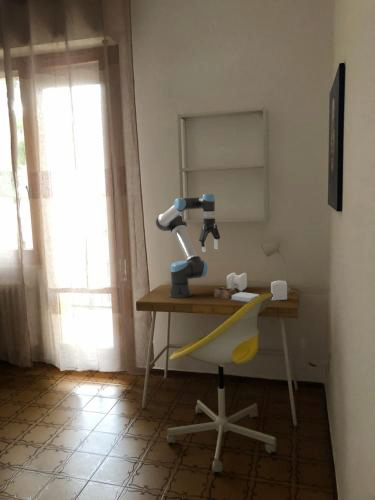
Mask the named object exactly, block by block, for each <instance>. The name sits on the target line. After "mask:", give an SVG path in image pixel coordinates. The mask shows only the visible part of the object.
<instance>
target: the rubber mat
mask: <svg viewBox="0 0 375 500" xmlns="http://www.w3.org/2000/svg"><path fill="white" fill-rule="evenodd" d="M228 300H229V301H230V302H238V303H244V304H248V303H247V301H240V300H233V299H232V298H231V299H228Z"/></svg>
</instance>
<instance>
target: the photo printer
mask: <svg viewBox="0 0 375 500" xmlns="http://www.w3.org/2000/svg"><path fill="white" fill-rule="evenodd" d="M270 283H271V284H270V294H271V293H272V294H273V297H272V299H271V298H270V300H271V301H282V300H283V301H284V300H286V301H287V300H288V283H287V281H286V280H279V279H278V280H274V281H271V282H270Z"/></svg>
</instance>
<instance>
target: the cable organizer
mask: <svg viewBox="0 0 375 500" xmlns="http://www.w3.org/2000/svg"><path fill="white" fill-rule="evenodd" d="M247 275H248V274H247V272H243V273H240V274H237V273H236V272H231V273H229V274H227V276H226V277H225V278H226V288H231V289H237V290H238V291H239V292H244V291H243V290H246V288H247V286H248V279H247V278H248V277H247Z"/></svg>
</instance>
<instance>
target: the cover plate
mask: <svg viewBox="0 0 375 500" xmlns="http://www.w3.org/2000/svg"><path fill="white" fill-rule="evenodd" d="M258 296H259V297H260V294H257V293H249V292H244V291H239V292H236V294H234V295H232V298H231V299H233V300H240V301H247V302H249V301H251V300H252V299H254V298H255V297H258Z"/></svg>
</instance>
